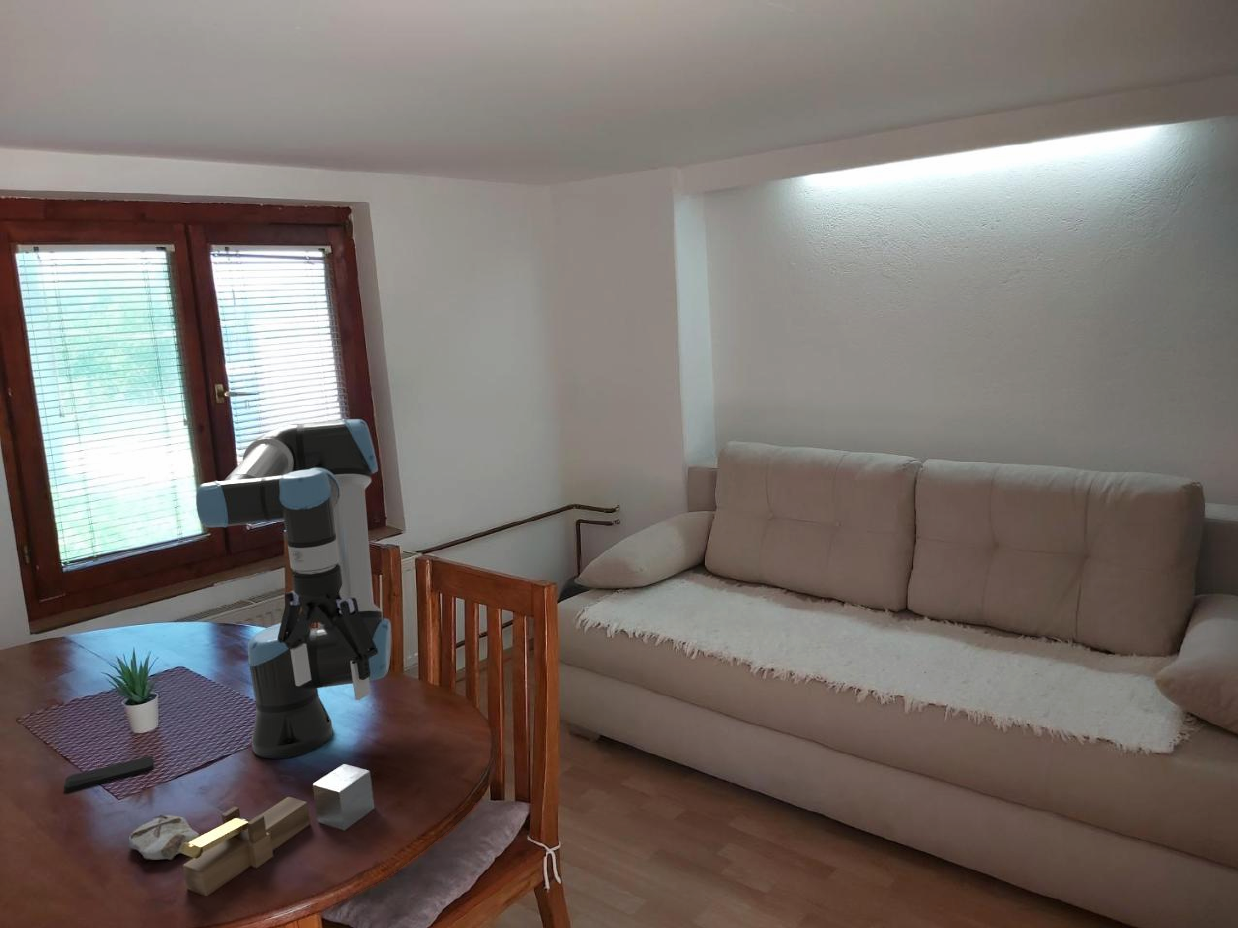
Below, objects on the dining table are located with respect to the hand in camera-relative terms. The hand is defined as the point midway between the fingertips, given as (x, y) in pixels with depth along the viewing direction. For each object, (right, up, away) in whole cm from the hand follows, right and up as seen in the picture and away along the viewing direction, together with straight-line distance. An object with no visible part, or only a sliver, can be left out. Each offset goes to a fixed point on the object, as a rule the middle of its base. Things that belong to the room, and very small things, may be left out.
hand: (332, 689), depth 152 cm
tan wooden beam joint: (-11, -24, -6) cm, 27 cm away
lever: (-11, -19, -8) cm, 23 cm away
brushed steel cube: (+1, -22, +3) cm, 22 cm away
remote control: (-49, -22, +22) cm, 58 cm away
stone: (-27, -25, -2) cm, 37 cm away
